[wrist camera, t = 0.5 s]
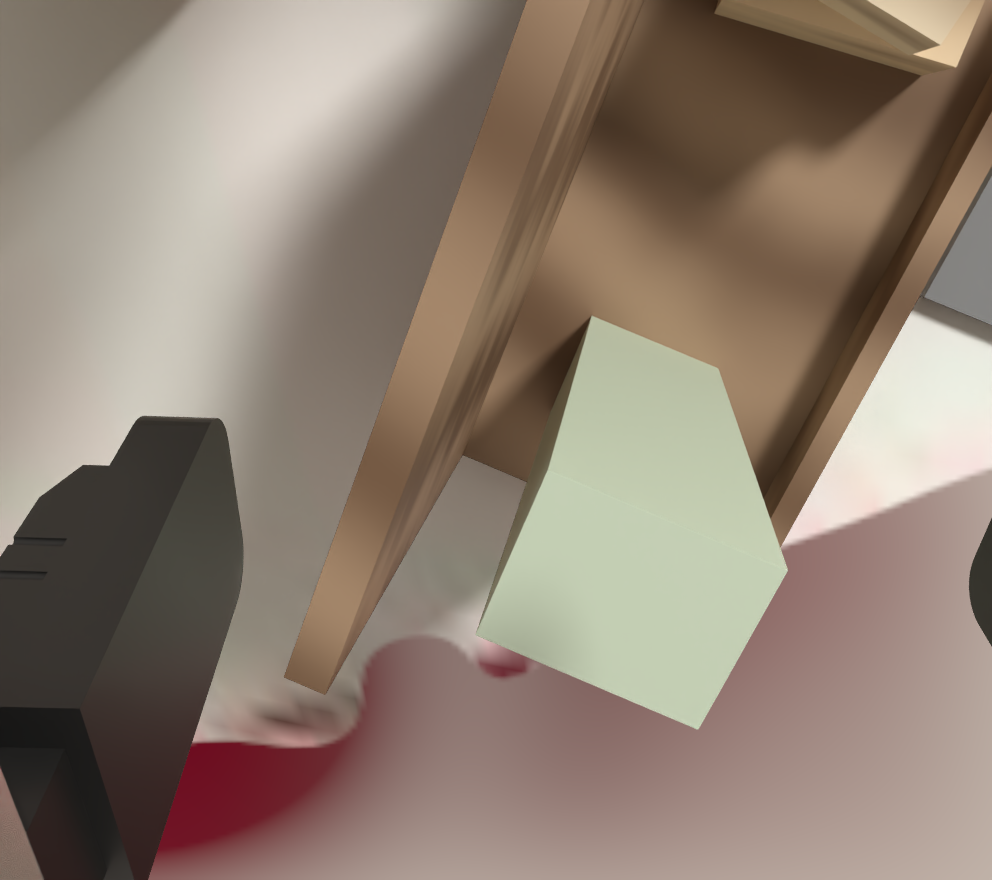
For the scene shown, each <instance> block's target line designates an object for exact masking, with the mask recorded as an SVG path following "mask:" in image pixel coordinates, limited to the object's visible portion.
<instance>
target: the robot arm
mask: <svg viewBox="0 0 992 880" xmlns="http://www.w3.org/2000/svg"><path fill="white" fill-rule="evenodd" d="M242 572H243V538H242V531H241V524H240V517H239V511H238V504H237V497H236V490H235V483H234V477H233V470H232V463H231V456H230V449H229V443H228V437H227V432H226V429H225V426H224V424H223V422H222V421H221V420H220V419H218V418H193V417H161V416H142V417H140V418H138V419H137V420H136V422H135V423H134V425H133V426H132V428H131V430H130V431H129V433H128V435H127V437H126V438H125V440H124V442H123V443H122V445H121V447H120V449H119V450H118V452H117V454H116V455H115V457H114V459H113V461H112V462H111V464H110V466H99V465H82V466H81V467H80V468H78V469H77V470H76V471H74V472H73V473H72V474H70V475H69V476H68V477H66V478H65V479H64V480H62V481H61V482H60V483H58V484H57V485H56V486H54V487H53V488H52V489H50V490H49V491H48V492H46V493H45V494H44V495H42V496H41V497H39V499H38V500H37V502H36V503H35V505H34V506H33V508H32V510H31V511H30V513H29V514H28V516H27V517H26V519H25V520H24V522H23V523H22V525H21V526H20V528H19V529H18V531H17V532H16V534H15V535H14V543H13V545H8V546H7V548H6V549H5V551H4V552H3V554H2V555H1V557H0V880H148V878H149V875H150V872H151V868H152V865H153V862H154V859H155V855H156V853H157V849H158V847H159V843H160V840H161V837H162V834H163V831H164V828H165V825H166V822H167V818H168V815H169V812H170V809H171V806H172V803H173V800H174V797H175V793H176V791H177V787H178V784H179V781H180V778H181V775H182V772H183V768H184V765H185V762H186V759H187V756H188V753H189V750H190V747H191V744H192V741H193V738H194V735H195V731H196V728H197V725H198V722H199V719H200V716H201V713H202V710H203V706H204V703H205V700H206V697H207V694H208V691H209V688H210V685H211V682H212V678H213V675H214V672H215V669H216V666H217V663H218V660H219V657H220V654H221V650H222V647H223V644H224V641H225V638H226V635H227V632H228V629H229V626H230V622H231V619H232V616H233V613H234V610H235V607H236V604H237V600H238V597H239V592H240V587H241V581H242ZM969 592H970V600H971V605H972V609H973V613H974V615H975V618H976V620H977V622H978V624H979V626H980V627H981V629H982V631H983V632H984V634H985V636H986V637H987V639H988V641H989V643H990V644H991V646H992V519H991V521H990V523H989V525H988V528H987V531H986V533H985V535H984V537H983V539H982V541H981V544H980V546H979V548H978V551H977V553H976V555H975V558H974V560H973V563H972V567H971V571H970V578H969Z"/></svg>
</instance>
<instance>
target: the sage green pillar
mask: <svg viewBox="0 0 992 880" xmlns="http://www.w3.org/2000/svg"><path fill="white" fill-rule="evenodd" d="M787 571H788V569H787V566H786V563H785V561H784V557H783V555H782V552H781V549H780V546H779V543H778V540H777V537H776V534H775V531H774V528H773V526H772V523H771V520H770V517H769V514H768V511H767V508H766V505H765V502H764V499H763V497H762V494H761V491H760V488H759V485H758V482H757V479H756V476H755V473H754V470H753V468H752V465H751V462H750V459H749V456H748V453H747V450H746V447H745V444H744V441H743V439H742V436H741V433H740V430H739V427H738V424H737V421H736V418H735V415H734V412H733V410H732V407H731V404H730V401H729V398H728V395H727V392H726V389H725V386H724V383H723V381H722V378H721V375H720V372H719V369H718V368H716V367H714V366H711V365H709V364H707V363H704V362H702V361H699V360H697V359H695V358H692V357H690V356H687V355H685V354H683V353H680V352H678V351H675V350H673V349H671V348H668V347H666V346H663V345H661V344H659V343H656V342H654V341H651V340H649V339H647V338H644V337H642V336H639V335H637V334H635V333H632V332H630V331H627V330H625V329H623V328H620V327H618V326H615V325H613V324H611V323H608V322H606V321H603V320H601V319H599V318H596V317H594V316H591V319H590V321H589V323H588V326H587V328H586V330H585V333H584V335H583V337H582V340H581V342H580V344H579V347H578V349H577V351H576V354H575V356H574V358H573V361H572V363H571V365H570V368H569V370H568V372H567V375H566V377H565V379H564V382H563V384H562V386H561V389H560V391H559V393H558V396H557V398H556V400H555V402H554V405H553V407H552V409H551V412H550V415H549V418H548V421H547V424H546V427H545V430H544V433H543V436H542V439H541V442H540V444H539V447H538V450H537V453H536V456H535V459H534V462H533V465H532V468H531V471H530V474H529V477H528V480H527V483H526V486H525V489H524V492H523V495H522V498H521V501H520V504H519V507H518V510H517V513H516V516H515V519H514V522H513V525H512V528H511V531H510V534H509V537H508V540H507V543H506V546H505V549H504V552H503V555H502V557H501V560H500V563H499V566H498V569H497V572H496V575H495V578H494V581H493V584H492V587H491V590H490V593H489V596H488V599H487V602H486V605H485V608H484V611H483V614H482V617H481V620H480V623H479V626H478V629H477V632H476V636H479V637H481V638H483V639H486V640H488V641H491V642H493V643H495V644H498V645H500V646H502V647H505V648H507V649H509V650H512V651H514V652H516V653H519V654H521V655H523V656H526V657H528V658H531V659H533V660H535V661H538V662H540V663H542V664H545V665H547V666H550V667H552V668H554V669H556V670H559V671H561V672H564V673H566V674H568V675H571V676H573V677H575V678H578V679H580V680H583V681H585V682H587V683H589V684H592V685H594V686H596V687H599V688H601V689H604V690H606V691H608V692H611V693H613V694H615V695H618V696H620V697H622V698H625V699H627V700H630V701H632V702H634V703H636V704H639V705H641V706H644V707H646V708H648V709H651V710H653V711H655V712H658V713H660V714H662V715H665V716H667V717H670V718H672V719H674V720H677V721H679V722H681V723H684V724H686V725H688V726H691V727H693V728H695V729H699V727H700V725H701V724H702V722H703V720H704V718H705V717H706V715H707V713H708V711H709V710H710V708H711V706H712V704H713V702H714V701H715V699H716V697H717V695H718V693H719V692H720V690H721V688H722V686H723V685H724V683H725V681H726V679H727V677H728V676H729V674H730V672H731V670H732V669H733V667H734V665H735V663H736V662H737V660H738V658H739V656H740V654H741V653H742V651H743V649H744V647H745V646H746V644H747V642H748V640H749V638H750V637H751V635H752V633H753V631H754V630H755V628H756V626H757V624H758V623H759V621H760V619H761V617H762V615H763V614H764V612H765V610H766V608H767V607H768V605H769V603H770V601H771V599H772V598H773V596H774V594H775V592H776V591H777V589H778V587H779V585H780V583H781V582H782V580H783V578H784V576H785V575H786V573H787Z"/></svg>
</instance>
